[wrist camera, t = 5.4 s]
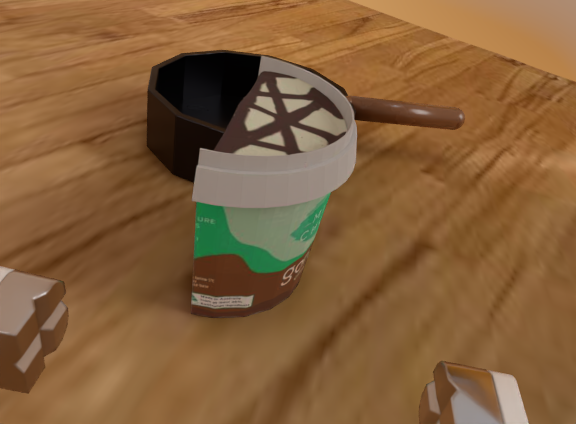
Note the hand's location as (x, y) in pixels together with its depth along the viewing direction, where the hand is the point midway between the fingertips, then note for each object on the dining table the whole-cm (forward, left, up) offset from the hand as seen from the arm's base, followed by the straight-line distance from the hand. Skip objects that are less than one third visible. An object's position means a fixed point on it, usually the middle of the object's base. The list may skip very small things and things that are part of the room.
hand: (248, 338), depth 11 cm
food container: (0, +15, -11) cm, 19 cm away
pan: (+1, +30, -11) cm, 32 cm away
